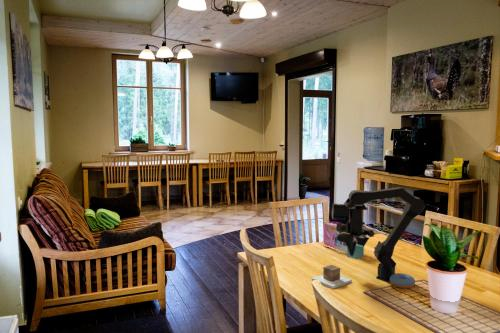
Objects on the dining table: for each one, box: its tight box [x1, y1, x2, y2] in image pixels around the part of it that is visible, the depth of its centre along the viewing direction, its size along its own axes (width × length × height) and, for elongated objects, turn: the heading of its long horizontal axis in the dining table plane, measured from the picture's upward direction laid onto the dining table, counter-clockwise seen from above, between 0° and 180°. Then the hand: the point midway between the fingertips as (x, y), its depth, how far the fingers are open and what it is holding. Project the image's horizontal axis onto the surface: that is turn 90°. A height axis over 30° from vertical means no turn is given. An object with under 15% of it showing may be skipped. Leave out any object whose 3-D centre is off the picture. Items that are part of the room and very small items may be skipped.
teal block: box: [346, 244, 365, 260], centre depth 175 cm, size 5×5×5 cm
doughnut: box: [390, 272, 416, 289], centre depth 168 cm, size 10×10×5 cm
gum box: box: [323, 221, 357, 253], centre depth 218 cm, size 24×8×14 cm, turn 32°
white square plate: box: [311, 274, 353, 290], centre depth 172 cm, size 12×12×1 cm
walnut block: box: [322, 264, 341, 282], centre depth 172 cm, size 5×5×5 cm
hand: (355, 254), depth 175 cm, fingers closed on teal block, 5 cm apart
